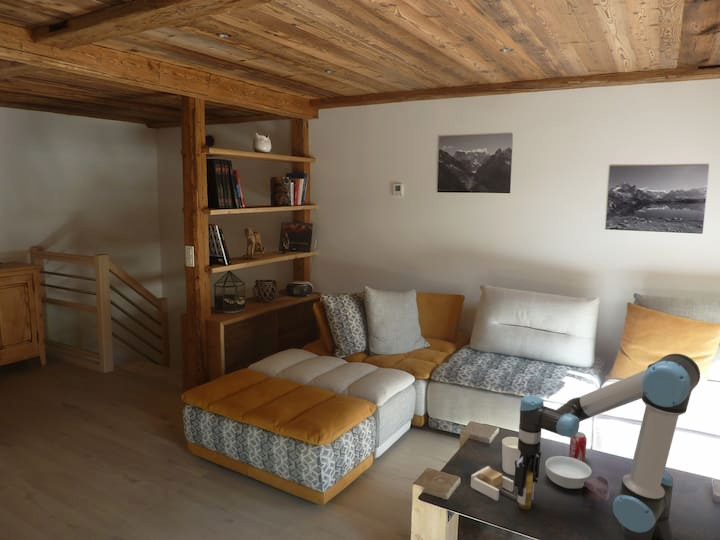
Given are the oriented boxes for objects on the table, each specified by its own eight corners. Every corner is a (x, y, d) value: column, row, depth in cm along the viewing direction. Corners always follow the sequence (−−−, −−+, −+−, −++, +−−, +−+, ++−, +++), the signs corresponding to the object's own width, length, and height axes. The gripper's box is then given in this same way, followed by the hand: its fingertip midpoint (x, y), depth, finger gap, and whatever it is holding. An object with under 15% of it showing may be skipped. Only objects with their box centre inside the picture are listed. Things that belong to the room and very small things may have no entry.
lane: (513, 490, 204) (513, 478, 203) (496, 500, 197) (497, 488, 196) (487, 477, 213) (487, 465, 212) (470, 487, 206) (471, 474, 205)
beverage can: (565, 459, 228) (567, 432, 226) (576, 456, 230) (578, 429, 228) (577, 466, 222) (579, 439, 220) (588, 463, 225) (590, 436, 223)
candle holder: (526, 478, 213) (528, 449, 211) (501, 475, 215) (502, 446, 213) (524, 465, 222) (526, 438, 220) (499, 462, 224) (501, 435, 222)
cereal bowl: (575, 501, 198) (577, 483, 197) (535, 481, 210) (536, 464, 209) (598, 485, 208) (600, 468, 207) (559, 467, 221) (560, 451, 220)
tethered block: (534, 505, 195) (536, 472, 193) (525, 511, 191) (527, 477, 189) (488, 482, 210) (490, 450, 207) (479, 487, 206) (480, 455, 204)
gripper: (533, 428, 199) (529, 487, 202) (505, 443, 187) (502, 504, 191) (552, 436, 193) (547, 496, 197) (524, 451, 182) (520, 514, 185)
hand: (525, 500), depth 194 cm, fingers open, 4 cm apart
